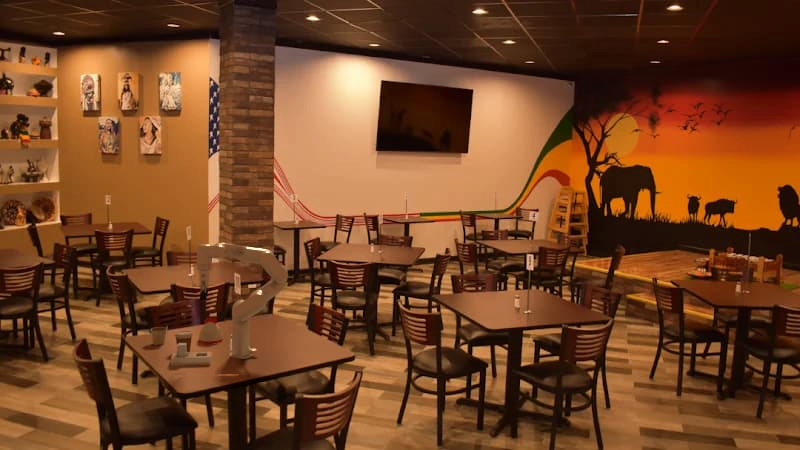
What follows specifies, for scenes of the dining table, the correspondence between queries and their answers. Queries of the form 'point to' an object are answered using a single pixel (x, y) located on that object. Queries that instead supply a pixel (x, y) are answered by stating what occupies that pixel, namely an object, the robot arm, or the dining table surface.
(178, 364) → the panel
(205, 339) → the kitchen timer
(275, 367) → the dining table surface
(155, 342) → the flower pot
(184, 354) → the plug
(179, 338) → the disposable coffee cup
